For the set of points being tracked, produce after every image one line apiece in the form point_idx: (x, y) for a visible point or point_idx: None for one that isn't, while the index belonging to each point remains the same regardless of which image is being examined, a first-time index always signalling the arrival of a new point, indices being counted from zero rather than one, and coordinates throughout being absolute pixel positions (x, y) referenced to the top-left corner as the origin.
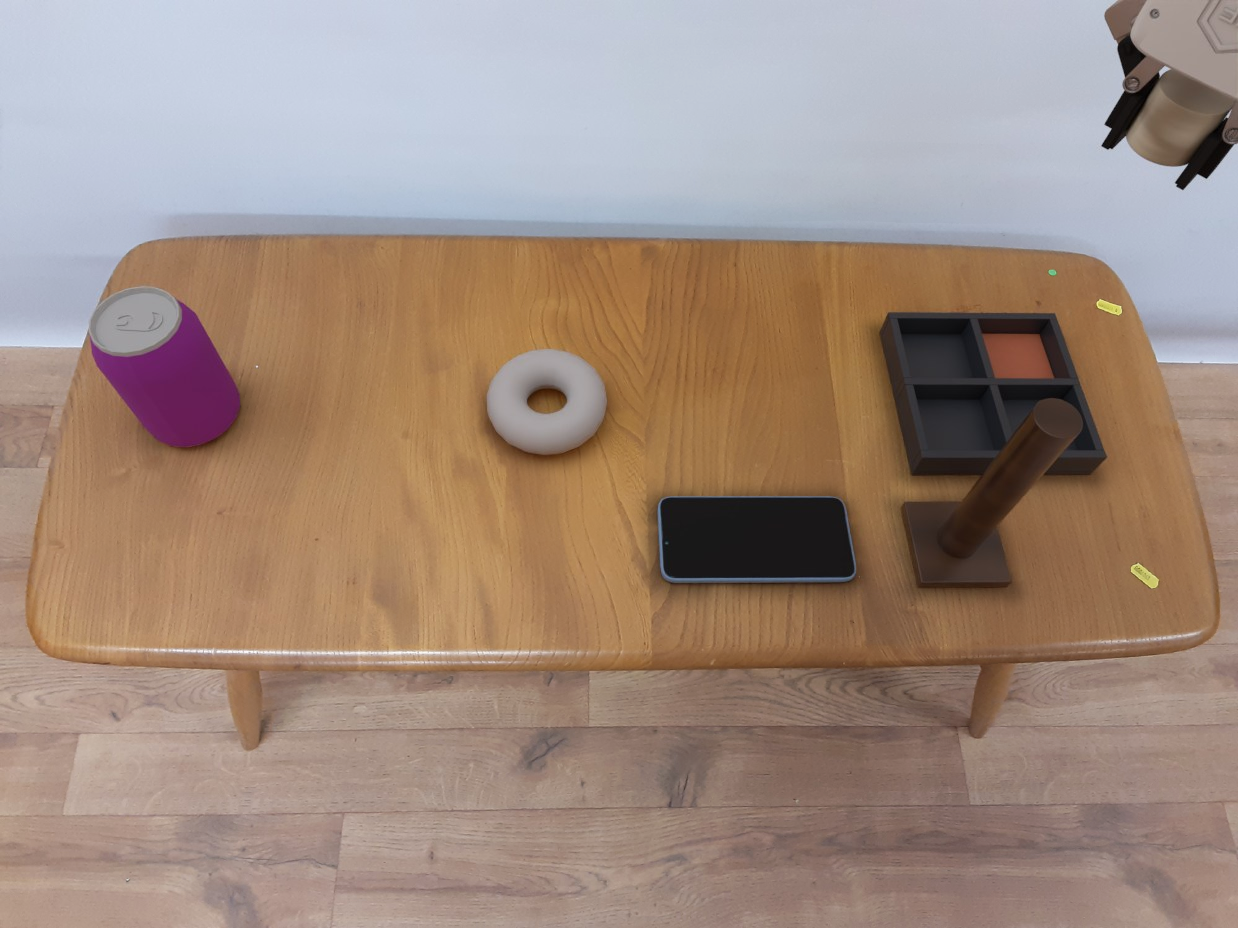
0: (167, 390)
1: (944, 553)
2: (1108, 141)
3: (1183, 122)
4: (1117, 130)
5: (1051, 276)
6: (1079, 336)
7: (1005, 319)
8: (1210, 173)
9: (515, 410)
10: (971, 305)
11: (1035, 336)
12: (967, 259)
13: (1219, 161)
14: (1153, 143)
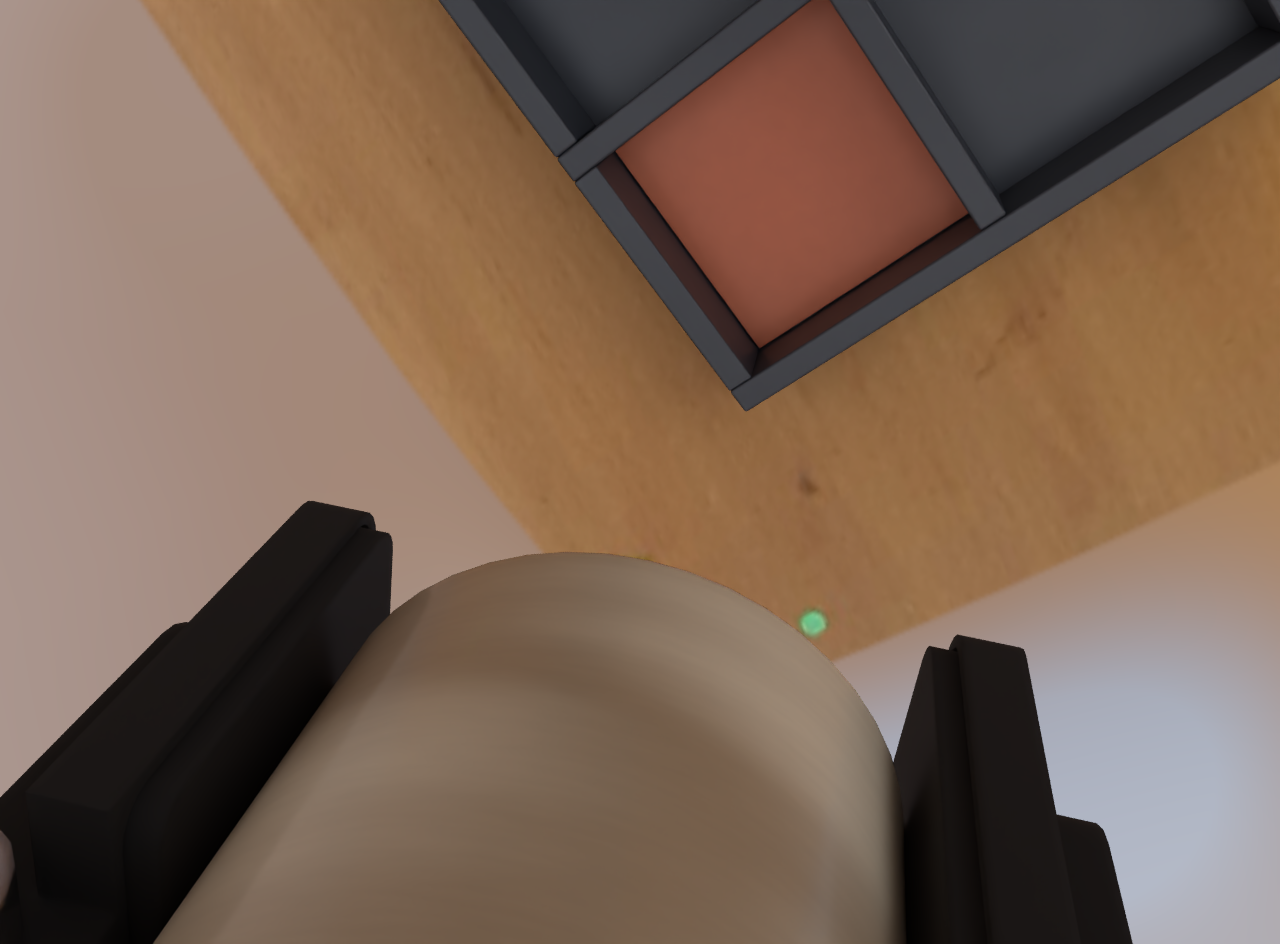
0: None
1: None
2: (995, 674)
3: (402, 866)
4: (991, 746)
5: (809, 608)
6: (649, 429)
7: (886, 291)
8: (154, 641)
9: None
10: (1003, 359)
11: (766, 331)
12: (1081, 541)
13: (84, 715)
14: (634, 656)
